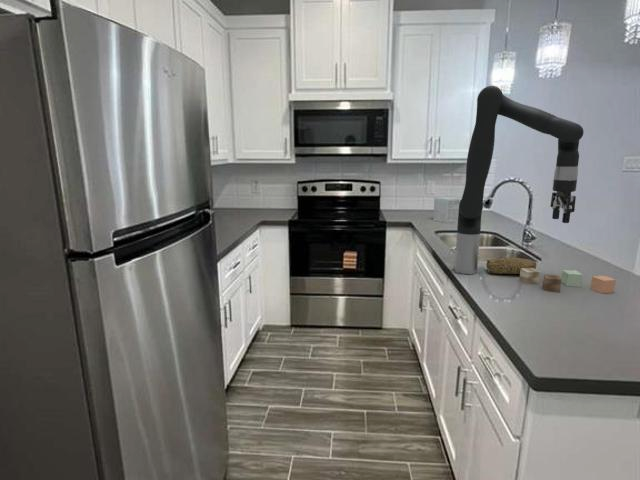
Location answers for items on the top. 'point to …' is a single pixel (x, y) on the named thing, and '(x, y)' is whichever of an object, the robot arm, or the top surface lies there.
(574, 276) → the sage block
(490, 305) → the top surface
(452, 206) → the supplement box
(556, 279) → the walnut block
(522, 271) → the maple block
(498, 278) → the top surface
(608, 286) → the terracotta block
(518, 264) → the sponge
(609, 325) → the top surface
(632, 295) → the top surface
